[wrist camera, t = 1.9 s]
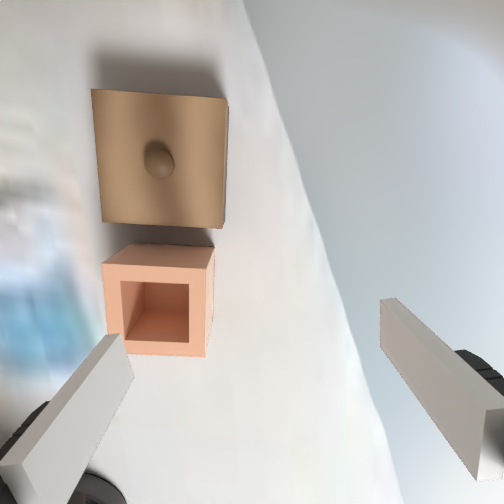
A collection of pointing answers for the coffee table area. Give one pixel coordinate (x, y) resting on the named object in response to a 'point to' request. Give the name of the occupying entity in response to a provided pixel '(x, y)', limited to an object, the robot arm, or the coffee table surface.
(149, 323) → the peach open box
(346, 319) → the coffee table surface
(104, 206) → the lid
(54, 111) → the coffee table surface
